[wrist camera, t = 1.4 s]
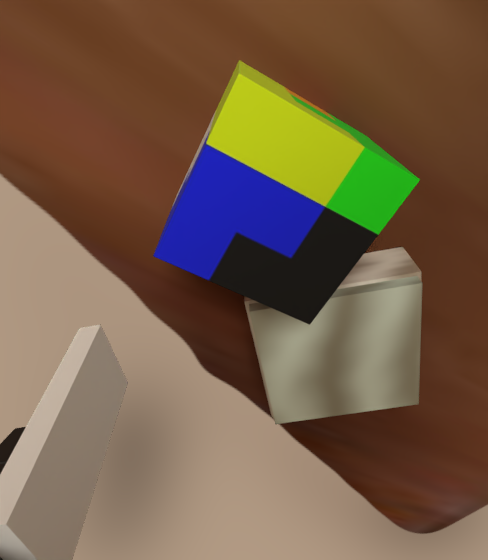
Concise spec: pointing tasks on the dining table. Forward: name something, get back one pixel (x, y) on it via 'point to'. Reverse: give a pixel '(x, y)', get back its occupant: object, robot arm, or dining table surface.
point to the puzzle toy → (280, 198)
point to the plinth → (345, 344)
